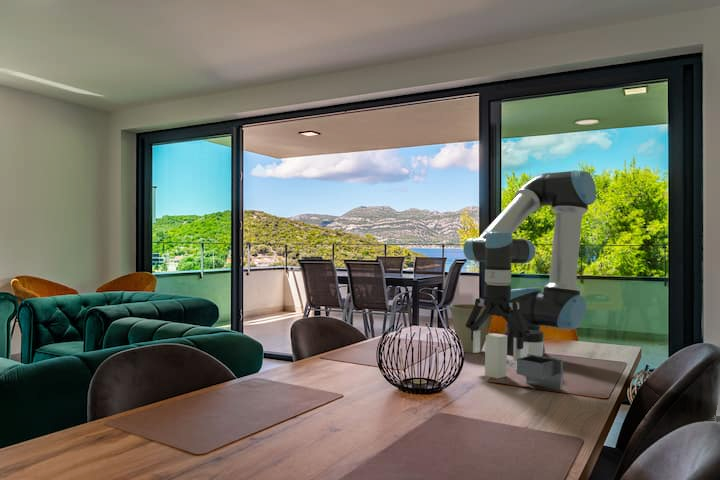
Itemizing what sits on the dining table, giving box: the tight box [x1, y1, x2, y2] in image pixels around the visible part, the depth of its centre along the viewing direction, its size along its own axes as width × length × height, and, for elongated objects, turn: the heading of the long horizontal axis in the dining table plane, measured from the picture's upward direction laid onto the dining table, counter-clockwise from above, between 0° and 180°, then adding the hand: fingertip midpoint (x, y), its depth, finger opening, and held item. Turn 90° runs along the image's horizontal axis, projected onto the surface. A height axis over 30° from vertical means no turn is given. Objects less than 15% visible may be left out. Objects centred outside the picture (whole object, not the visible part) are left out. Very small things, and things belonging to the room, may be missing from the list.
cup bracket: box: [516, 354, 564, 391], centre depth 148 cm, size 9×10×8 cm
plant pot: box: [450, 303, 493, 354], centre depth 196 cm, size 15×15×16 cm
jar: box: [514, 330, 545, 372], centre depth 169 cm, size 9×8×12 cm
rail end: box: [484, 333, 508, 380], centre depth 161 cm, size 4×4×12 cm
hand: (496, 356), depth 161 cm, fingers open, 13 cm apart
